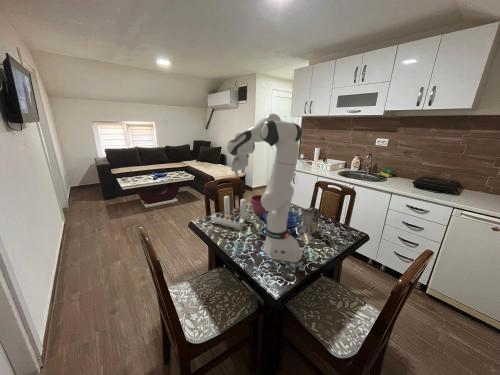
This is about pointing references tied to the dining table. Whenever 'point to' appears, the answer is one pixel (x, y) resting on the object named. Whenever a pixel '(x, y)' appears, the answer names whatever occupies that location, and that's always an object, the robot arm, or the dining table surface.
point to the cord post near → (243, 208)
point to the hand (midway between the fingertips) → (239, 174)
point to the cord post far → (226, 205)
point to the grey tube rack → (228, 220)
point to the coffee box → (310, 220)
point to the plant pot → (257, 204)
